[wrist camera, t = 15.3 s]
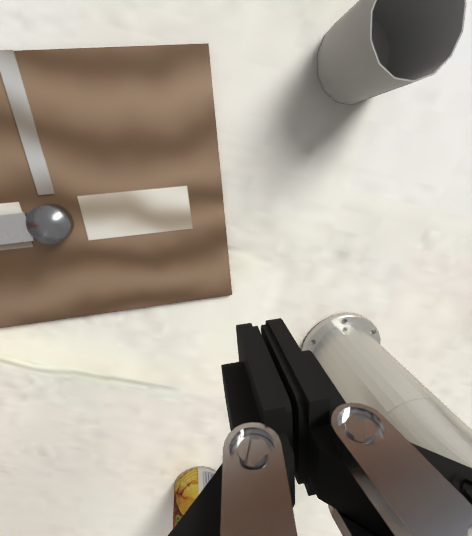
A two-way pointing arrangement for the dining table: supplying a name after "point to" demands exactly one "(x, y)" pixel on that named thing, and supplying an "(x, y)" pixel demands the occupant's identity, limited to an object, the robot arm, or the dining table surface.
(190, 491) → the canned food
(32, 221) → the arm
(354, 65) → the cup
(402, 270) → the dining table surface
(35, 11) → the dining table surface
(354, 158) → the dining table surface
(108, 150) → the board
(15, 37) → the dining table surface
